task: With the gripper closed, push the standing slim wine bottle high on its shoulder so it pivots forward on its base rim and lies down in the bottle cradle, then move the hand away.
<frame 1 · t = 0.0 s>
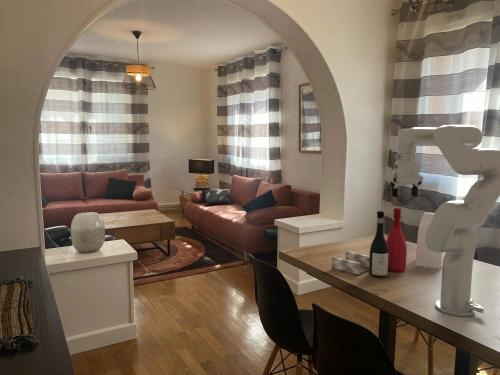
hand: (404, 196, 165), 37 cm above the table, tool pointing down, fingers open, 9 cm apart
cradle: (365, 272, 177), on the table
wine bottle: (394, 269, 181), on the table
wine bottle 2: (378, 275, 173), on the table
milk: (428, 264, 190), on the table
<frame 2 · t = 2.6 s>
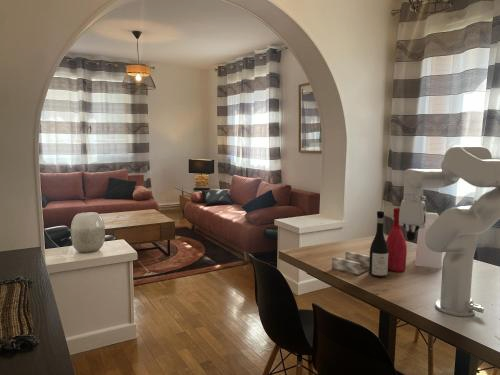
hand: (411, 240, 161), 19 cm above the table, tool pointing down, fingers closed
nothing on the table moved.
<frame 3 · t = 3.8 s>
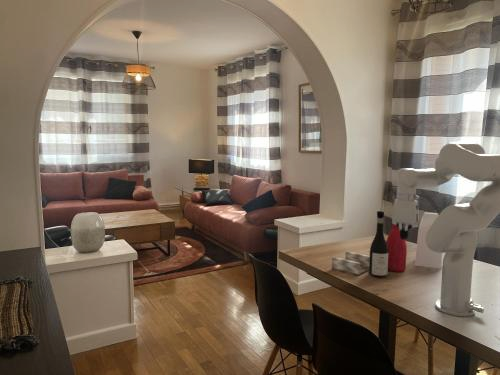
hand: (403, 238, 163), 19 cm above the table, tool pointing down, fingers closed
nothing on the table moved.
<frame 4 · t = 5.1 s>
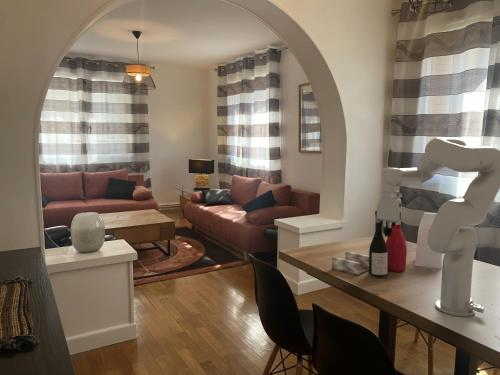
hand: (387, 235, 168), 19 cm above the table, tool pointing down, fingers closed
wine bottle 2: (378, 275, 173), on the table, touching gripper
everything else where it was.
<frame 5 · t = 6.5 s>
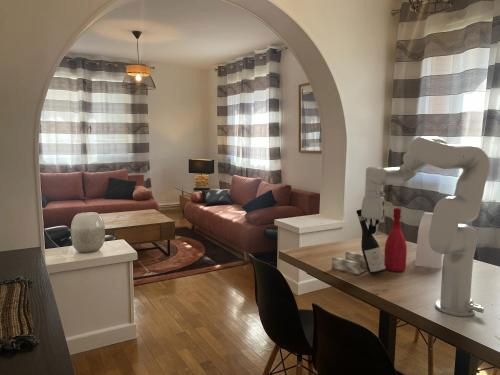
hand: (372, 233, 173), 19 cm above the table, tool pointing down, fingers closed
wine bottle 2: (377, 273, 173), point 1 cm above the table
everything else where it was.
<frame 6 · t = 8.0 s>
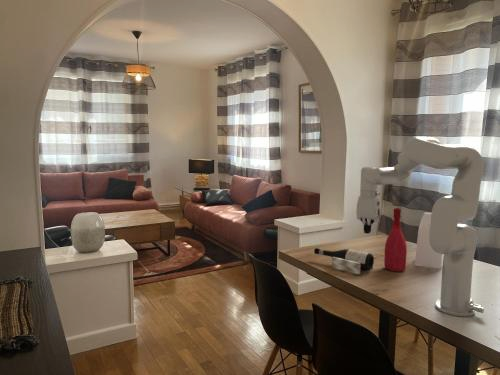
hand: (367, 232, 174), 19 cm above the table, tool pointing down, fingers closed
wine bottle 2: (371, 262, 176), point 5 cm above the table, touching cradle
everything else where it was.
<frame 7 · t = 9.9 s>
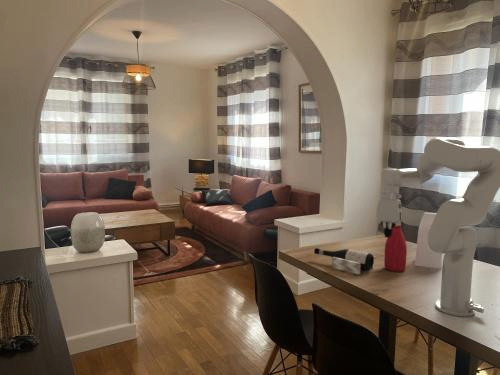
hand: (388, 236, 168), 19 cm above the table, tool pointing down, fingers closed
nothing on the table moved.
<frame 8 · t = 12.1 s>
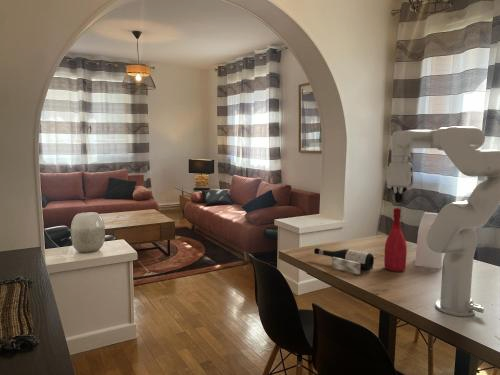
hand: (398, 202, 163), 35 cm above the table, tool pointing down, fingers closed
nothing on the table moved.
at the end: wine bottle 2 tilted 90°; wine bottle 2 inside the target area on the cradle (6.6 cm from its centre), point 5.0 cm above the cradle's base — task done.
